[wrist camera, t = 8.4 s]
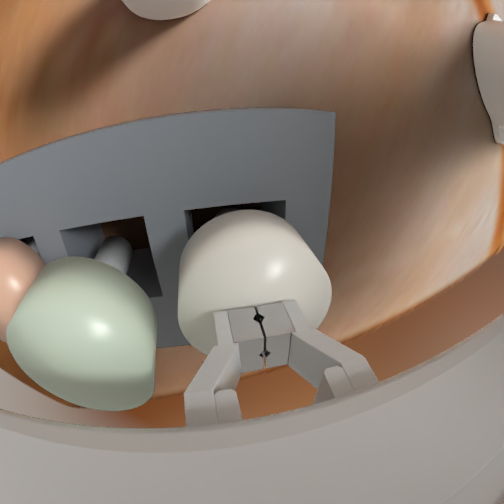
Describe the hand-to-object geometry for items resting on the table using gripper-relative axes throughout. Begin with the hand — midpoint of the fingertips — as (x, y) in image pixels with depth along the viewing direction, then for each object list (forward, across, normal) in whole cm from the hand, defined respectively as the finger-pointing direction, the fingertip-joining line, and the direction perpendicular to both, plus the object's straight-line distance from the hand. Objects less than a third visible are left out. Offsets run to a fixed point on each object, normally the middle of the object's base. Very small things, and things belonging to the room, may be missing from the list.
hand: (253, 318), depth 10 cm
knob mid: (+6, +7, 0) cm, 9 cm away
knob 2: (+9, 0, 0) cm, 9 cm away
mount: (+11, +7, 0) cm, 13 cm away
